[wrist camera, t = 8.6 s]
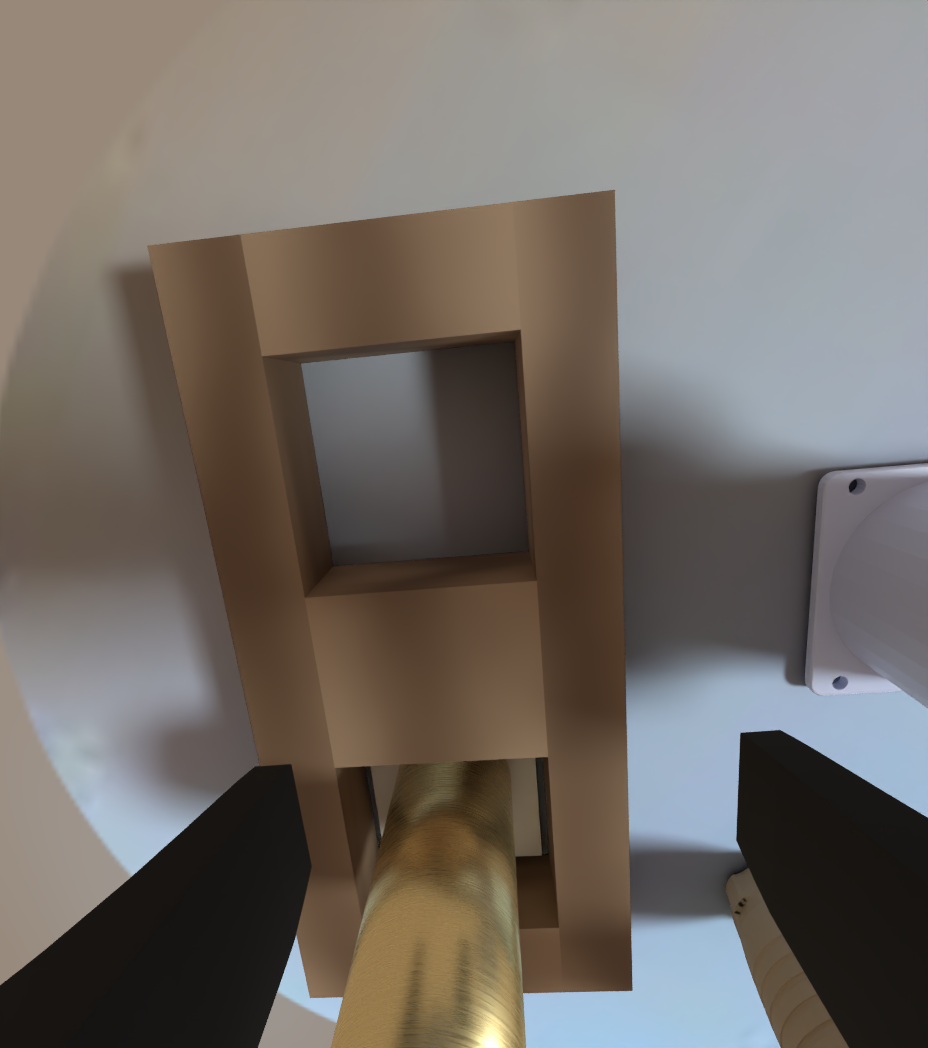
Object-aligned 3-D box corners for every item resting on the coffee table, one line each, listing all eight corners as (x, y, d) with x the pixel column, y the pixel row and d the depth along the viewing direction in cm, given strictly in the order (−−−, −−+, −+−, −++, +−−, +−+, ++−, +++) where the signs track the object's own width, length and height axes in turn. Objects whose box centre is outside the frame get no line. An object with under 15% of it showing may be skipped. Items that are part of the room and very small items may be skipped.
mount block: (590, 228, 16) (614, 189, 13) (612, 910, 22) (632, 990, 19) (207, 272, 16) (147, 245, 13) (333, 919, 22) (310, 997, 20)
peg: (506, 726, 19) (522, 1055, 10) (515, 823, 20) (539, 1208, 11) (390, 733, 20) (295, 1059, 10) (406, 828, 21) (333, 1207, 11)
